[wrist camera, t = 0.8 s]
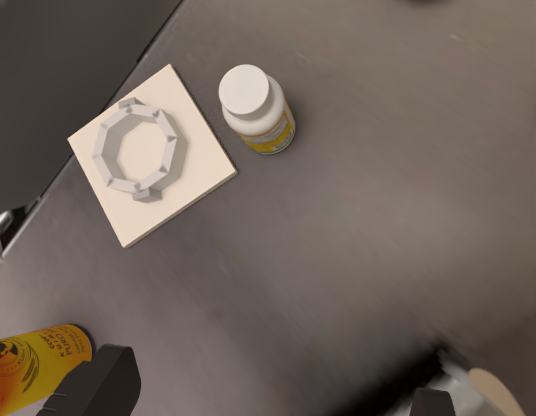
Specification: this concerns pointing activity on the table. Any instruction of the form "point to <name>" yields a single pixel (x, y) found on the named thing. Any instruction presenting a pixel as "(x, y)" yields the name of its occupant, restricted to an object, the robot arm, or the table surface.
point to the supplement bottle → (256, 109)
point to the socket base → (151, 156)
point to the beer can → (38, 364)
